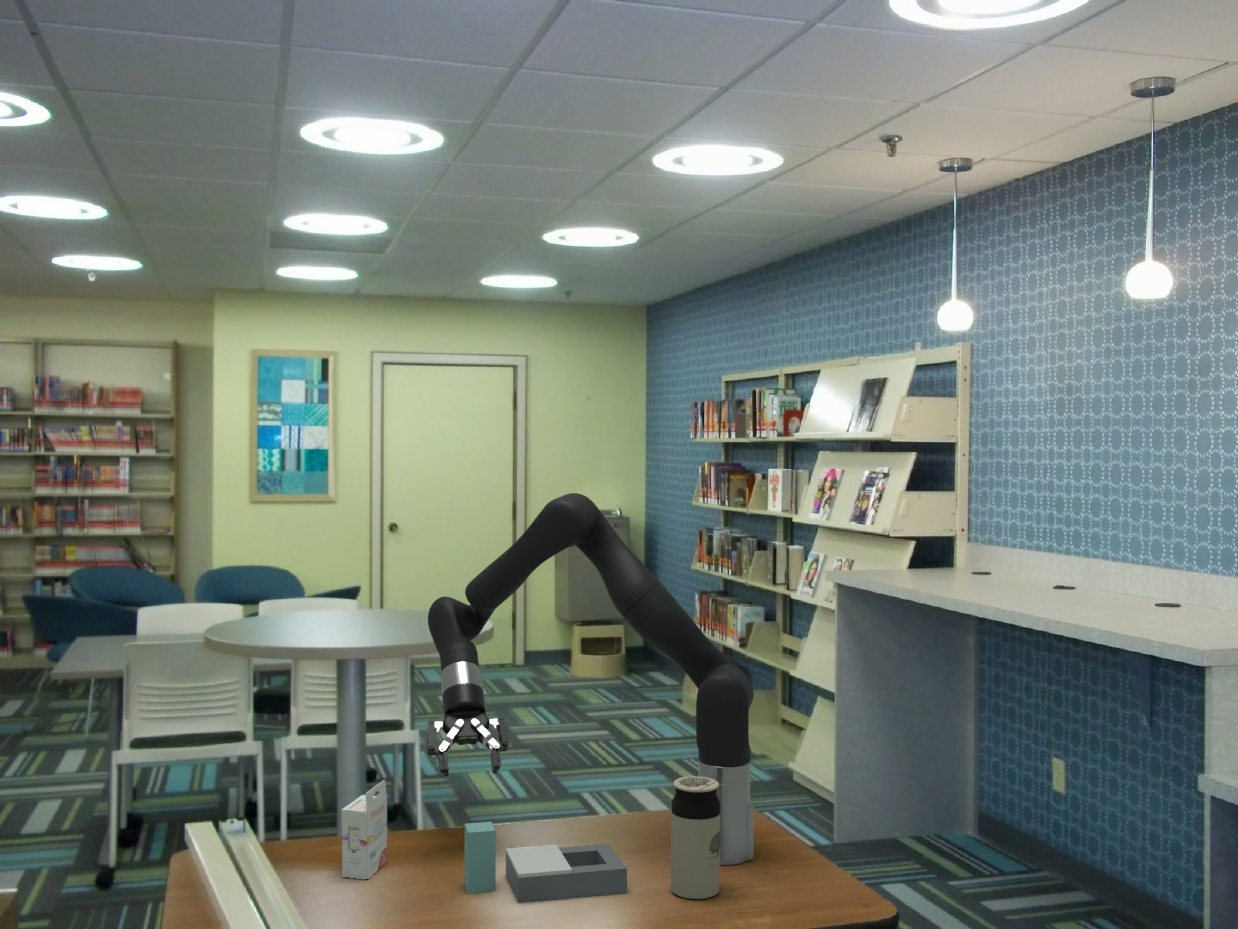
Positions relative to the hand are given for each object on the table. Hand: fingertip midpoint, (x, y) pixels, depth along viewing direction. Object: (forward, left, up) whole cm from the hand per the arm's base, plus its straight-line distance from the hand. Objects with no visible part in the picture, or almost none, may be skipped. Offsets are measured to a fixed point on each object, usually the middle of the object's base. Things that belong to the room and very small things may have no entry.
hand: (471, 773), depth 209 cm
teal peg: (0, +11, -16) cm, 19 cm away
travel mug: (-34, +21, -16) cm, 43 cm away
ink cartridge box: (+18, -1, -16) cm, 24 cm away
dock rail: (-14, +13, -16) cm, 25 cm away
